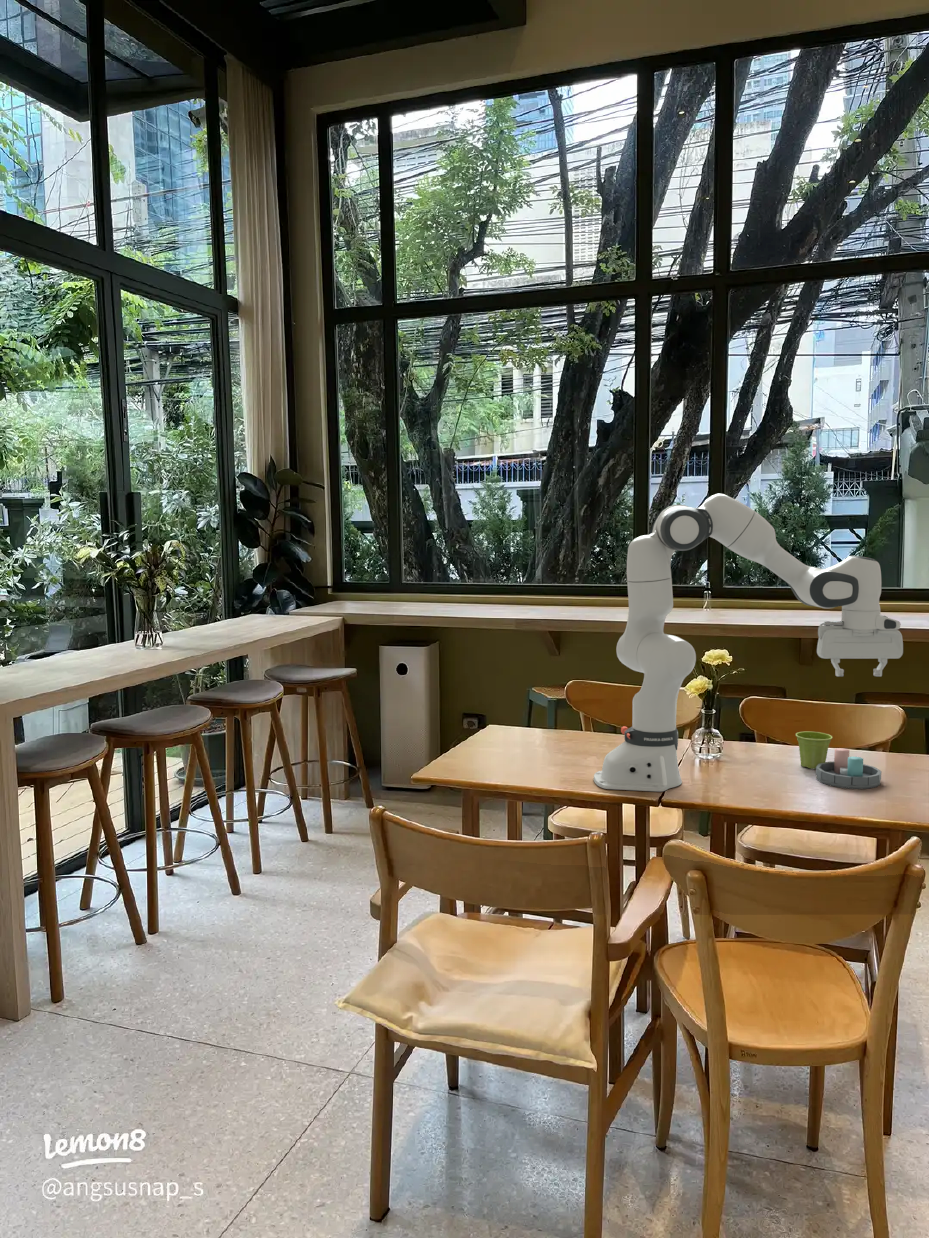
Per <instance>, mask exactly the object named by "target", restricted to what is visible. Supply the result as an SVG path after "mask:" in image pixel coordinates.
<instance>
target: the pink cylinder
mask: <svg viewBox="0 0 929 1238" xmlns="http://www.w3.org/2000/svg"><path fill="white" fill-rule="evenodd" d="M833 755H834V758H833V759H834V761H833V762H834V772H835V773H838V774H840V768H842V767H848V757H850V749H848V748H840V747H839V748H838V747H837V748H834V754H833Z"/></svg>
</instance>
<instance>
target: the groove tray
mask: <svg viewBox="0 0 929 1238" xmlns="http://www.w3.org/2000/svg"><path fill="white" fill-rule="evenodd" d="M847 770H848V767H842V768H840V774H838V773H835V772H834V761H826V762H825V763H820V764H818V765H817V766H816V769H815V776H816V780H817V781H818V782H819V783H821V784H825V785H826V786H830V785H831V787H834V786H836V787H835V788H841V789H849V790H867V789H873V788H874V789H875V788H877V787H879V786H881V780H882V770H880V769H878V768H877V767H876V766H873V765H869V764H865V763H863V776H854V777H852V776H847Z"/></svg>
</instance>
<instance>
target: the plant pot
mask: <svg viewBox="0 0 929 1238" xmlns="http://www.w3.org/2000/svg"><path fill="white" fill-rule="evenodd" d="M795 737H796V739H797V742H798V748H799V750H798V751H799V759H800V766H802V767H803V768H805V767H806V768H808V769H813V770H816V766H817V765H818V764H820V763H825V762H827V758H828V756H827V755H828V752H829V751H828V750H829V745H830V744H831V740H832V739H833V735H831V734H829V733H825V732H820V731H799V732H796V733H795Z"/></svg>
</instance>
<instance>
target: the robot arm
mask: <svg viewBox="0 0 929 1238" xmlns="http://www.w3.org/2000/svg"><path fill="white" fill-rule="evenodd" d="M776 535H777V534H776V530H775V528H774V527H773V525H772V524H771V523H770V522H769V521H768V520H767V519H766V518H764V517H763V516H762V515H761V514H759V513H758V512H756V511H755V510H754V509H752V508H751V507H749V506H747V505H746V504H744V503H742V502H741V501H739V500H737V499H736V498H733V497H731V496H729V495H726V494H724V493H715V494H713V495H710V496H709V497H707V498H706V499H705V500H704V501H703V503H702V504H701V505H700V506H698V507H691V506H688V505H685V504H671V505H669V506H666V507H664V508H663V509H661V511H659V513H658V514H657V516H656V517H655V519H654V522H653V523H652V526H651V528H650V530H649V532H648V534H644V535H640V536H638V537H635V538H634V539H632V541H630V543H629V544H628V547H627V556H626V580H627V581H626V582H627V585H626V586H627V595H628V596H627V598H628V599H627V600H628V616H627V622H626V626H625V630H624V632H623V634H622V635H621V636H620V637H619V639H618V641H617V643H616V649H615V650H616V657H617V658H618V660H619V662H621V664H622V665H624V666H626V668H629V669H630V670H632V671H634V672H639V673H643V680H642V681H643V682H642V684H641V688H640V690H639V691H638V692H637V693H635V694H634V696H633V697H632V723H631V724H632V726H631V727H627V726H625V725H624V726H622V727H620V732H621V734H622V735H623V736H624V737H623V738H624V741H623V742H622V743H620V744H619V745H617V746H616V747H615V748H614V749H612V750H611V751H610V752H607V754H606V755H605V757H604V759H603V761H602V767H601V768H602V769H601V770H598V771H596V772H595V773H594V774H593V782H594V783H595V784H596V786H598V787H600V788H602V789H604V790H606V789H607V790H621V791H622V790H624V791H625V790H626V791H640V792H642V791H643V792H665V791H667V790H668V789H671V788H676V787H679V786H680V785H681V784H682V782H683V781H682V777H681V773H680V769H679V764H678V763H679V762H678V755H677V753H678V747H679V731H678V729H677V705H678V697H679V692H680V690H681V687H682V684H683V682H684V680H685V679H686V678H687V676H689V675H690V674H691V673H692V671H693V670H694V668H695V666H696V662H697V654H696V651H695V648H694V647H693V645H692V644H691V643H689V641H687V640H685V639H683V638H681V637H679V636H676V635H673V634H667V633H665V632H664V627H665V623H666V622H665V621H666V618H667V617H668V615H669V614H670V613H671V612H672V610H673V608H674V595H673V594H674V593H673V578H672V569H671V565H672V564H671V562H672V557H673V554H674V553H675V552H676V551H680V552H682V551H683V552H684V551H690V550H692V549H694V548H696V547H697V546H698V545H700V544H701V543H703V541H705V540H706V539H708V538H709V537H710V538H712V539H715V541H717V542H719V543H720V544H722V545H723V546H725V548H727V549H728V550H730V551H732V552H734V553H735V554H737V555H739V556H740V557H742V558H745V559H747V560H749V561H752V562H755V563H756V564H757V563H758V564H760V565H762V566H763V567H765V568H766V569H768V570H769V571H770V572H772V573H773V575H774V574H775V575H776V576H777V577H778V578H780V579H781V580H783V581H784V582H785V583H786V584H787V585H788V586H789V588H790V589H791V591H792V593H793V594H794V596H795V598H796V599H797V600H798V601H799V602H800V603H802V604H803V605H805V606H809V607H817V608H820V609H821V608H822V609H834V608H839V607H841V620H840V621H837V620H836V621H834V620H833V621H827V620H825V621H824V622H823V623H821V624H820V625H818V628H817V637H818V640H817V645H816V654H817V656H818V658H821V659H825V660H826V659H827V660H828V659H830V661H831V662H830V663H831V664H832V666H833V668H834V669H835V674H834V675H835V676H836V677H844V673H845V669H843V668H840V665H839V664H840V663H841V659H842V660H843V659H844V660H845V659H849V660H850V659H856V660H857V659H862V660H863V659H869V660H870V659H877V662H879V664H878V665H877V666H876V668H873V676H874V677H882V676H883V670H884V668H885V667H886V665H887V664H888V660H889V659H900V658H901V657H902V656H903V654H904V642H903V641H904V640H903V635H902V633H901V631H900V628H901V622H900V620H897V619H893V618H891V617H889V616H886V615H882V614H881V605H880V597H881V594H882V571H881V565H880V563H879V562H878V561H877V560H876V559H874V558H871V557H865V556H860V555H849V556H847V557H846V558H844V559H843V560H841V561H840V562H838V563H836V564H834V565H831V566H829V567H826V568H821V567H816V566H812V565H811V566H810V565H807V564H805V563H803V562H802V561H800V560H799V559H797V558H796V557H795V556H793V555H792V554H791V553H789V552H788V551H787V550H785V549H784V548H783V547H782V546H781V545H780V544H779V543H778V541H777V538H776Z"/></svg>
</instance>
